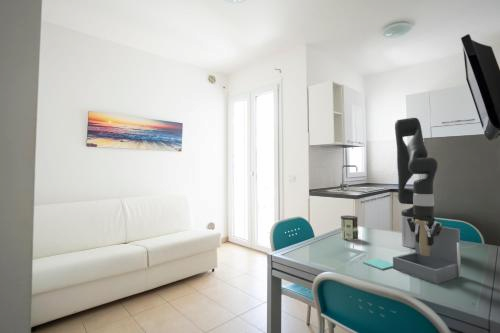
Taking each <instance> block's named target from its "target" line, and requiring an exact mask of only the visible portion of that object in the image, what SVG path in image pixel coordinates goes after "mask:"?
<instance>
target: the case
mask: <svg viewBox="0 0 500 333" xmlns="http://www.w3.org/2000/svg"><path fill="white" fill-rule="evenodd" d="M415 226H416V222H415ZM432 226H433V231H434V228H435V226H434V224H433V225H432ZM460 230H461V229H459V228H454V227H449V226H448V227H447V226H442V228H441V230H440V233H439V235H438V236H434V244H433V245H432V246H430V252H429V253H430V254H429V256H424V255H421V253H420V247H419V243H417V241H416V234H415V248H414V250H415V251H414V252H410V253H406V254H402V255H398V256H397V255H396V256H393V257H392V263H393V267H392V268H393V269H394V270H396V271H399V272H401V273H405V274H408V275H410V276H413V277H416V278H419V279H422V280H424V281H427V282H430V283H433V284H441V283H443V282H446V281H449V280H452V279H455V278H459V279H460V278H461V262H462V259H461V258H462V257H461V256H462V255H461V254H462V253H461V231H460Z"/></svg>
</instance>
